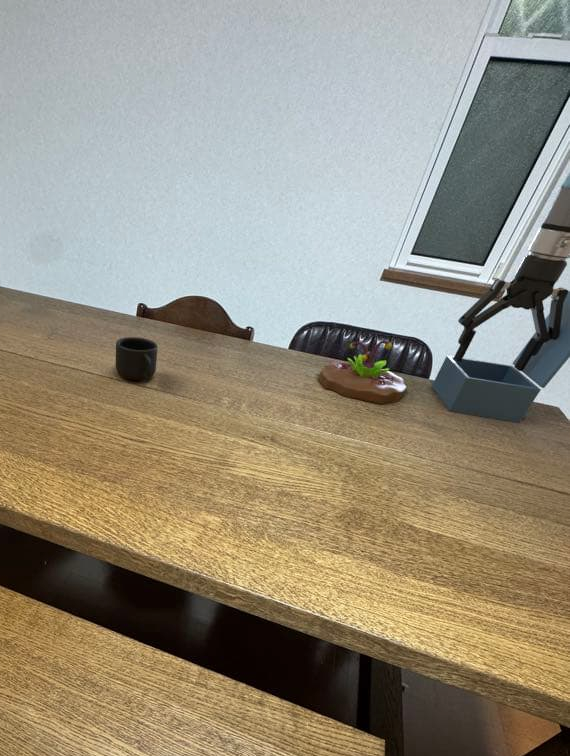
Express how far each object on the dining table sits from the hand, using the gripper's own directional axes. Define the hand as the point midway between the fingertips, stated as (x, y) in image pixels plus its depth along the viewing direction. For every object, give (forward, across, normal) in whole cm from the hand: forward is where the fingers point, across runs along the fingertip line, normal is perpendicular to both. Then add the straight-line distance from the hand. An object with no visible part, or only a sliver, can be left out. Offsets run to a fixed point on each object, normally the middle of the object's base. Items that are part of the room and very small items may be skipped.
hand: (487, 364), depth 104 cm
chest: (+9, +2, 0) cm, 9 cm away
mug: (+9, -78, -20) cm, 81 cm away
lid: (-7, +10, 0) cm, 12 cm away
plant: (+9, -26, -1) cm, 27 cm away
